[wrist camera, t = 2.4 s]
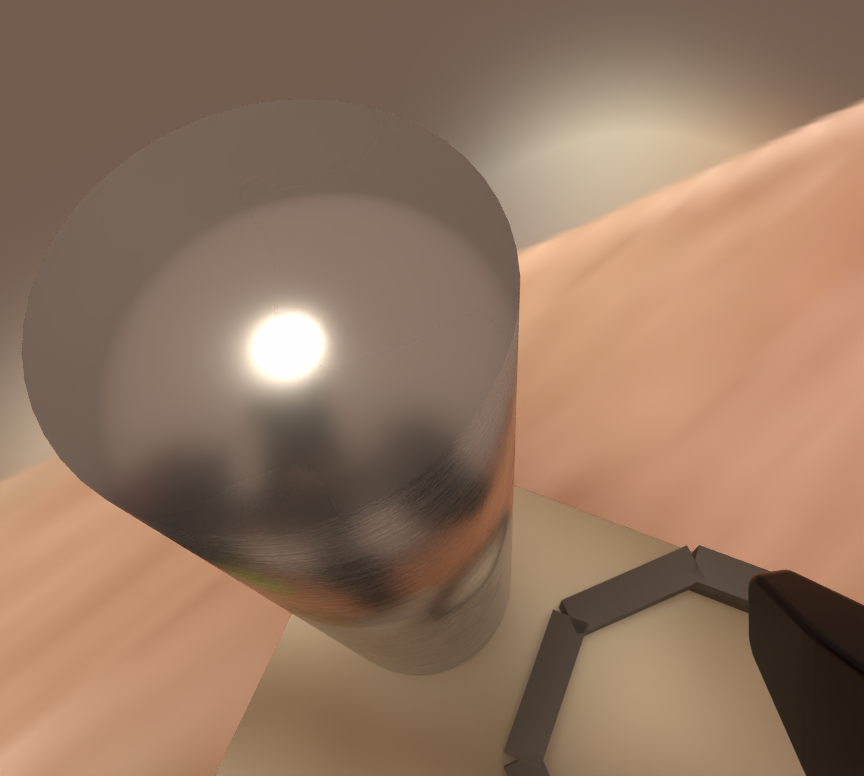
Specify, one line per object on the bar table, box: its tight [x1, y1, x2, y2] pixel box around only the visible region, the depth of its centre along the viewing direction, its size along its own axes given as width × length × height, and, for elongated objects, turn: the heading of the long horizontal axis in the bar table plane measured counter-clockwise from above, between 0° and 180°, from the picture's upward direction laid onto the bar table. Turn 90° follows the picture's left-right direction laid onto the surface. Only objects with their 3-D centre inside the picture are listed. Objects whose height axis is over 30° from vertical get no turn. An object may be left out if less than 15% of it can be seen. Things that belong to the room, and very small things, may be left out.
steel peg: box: [22, 99, 520, 675], centre depth 13 cm, size 4×4×13 cm
